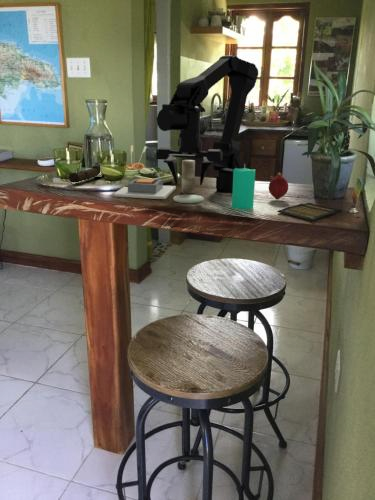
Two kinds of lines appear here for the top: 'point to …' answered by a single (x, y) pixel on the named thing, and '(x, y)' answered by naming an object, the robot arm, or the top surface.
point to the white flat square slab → (145, 190)
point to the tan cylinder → (188, 176)
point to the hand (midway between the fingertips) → (188, 184)
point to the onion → (278, 186)
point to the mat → (188, 198)
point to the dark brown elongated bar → (84, 174)
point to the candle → (243, 188)
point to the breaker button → (146, 181)
